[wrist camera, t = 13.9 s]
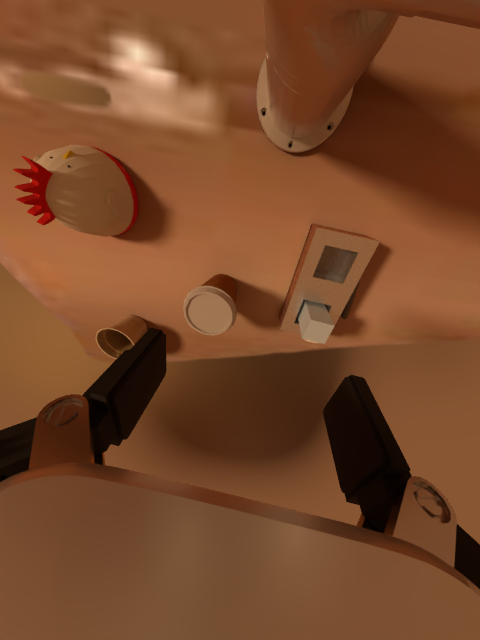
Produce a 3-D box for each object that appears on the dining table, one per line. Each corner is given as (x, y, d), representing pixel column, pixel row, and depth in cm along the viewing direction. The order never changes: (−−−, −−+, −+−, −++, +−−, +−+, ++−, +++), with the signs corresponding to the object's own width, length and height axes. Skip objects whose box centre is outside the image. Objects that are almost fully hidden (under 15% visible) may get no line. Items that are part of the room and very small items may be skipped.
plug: (303, 294, 42) (311, 319, 33) (322, 299, 42) (334, 325, 33) (295, 313, 44) (300, 341, 36) (313, 317, 44) (322, 346, 36)
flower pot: (123, 302, 50) (97, 321, 43) (158, 320, 52) (139, 341, 45) (116, 329, 55) (93, 349, 48) (149, 344, 57) (131, 366, 49)
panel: (311, 223, 36) (317, 227, 32) (367, 235, 36) (380, 241, 32) (279, 317, 47) (279, 329, 42) (321, 327, 46) (326, 340, 42)
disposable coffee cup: (240, 310, 47) (232, 341, 37) (200, 303, 47) (181, 332, 37) (246, 270, 42) (238, 294, 32) (201, 263, 42) (179, 284, 32)
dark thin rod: (363, 246, 37) (365, 247, 36) (369, 246, 37) (371, 247, 36) (340, 317, 45) (342, 319, 44) (345, 317, 44) (347, 320, 44)
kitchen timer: (143, 171, 35) (72, 158, 23) (133, 246, 43) (75, 267, 30) (64, 130, 34) (-61, 92, 21) (67, 215, 41) (-24, 224, 28)
